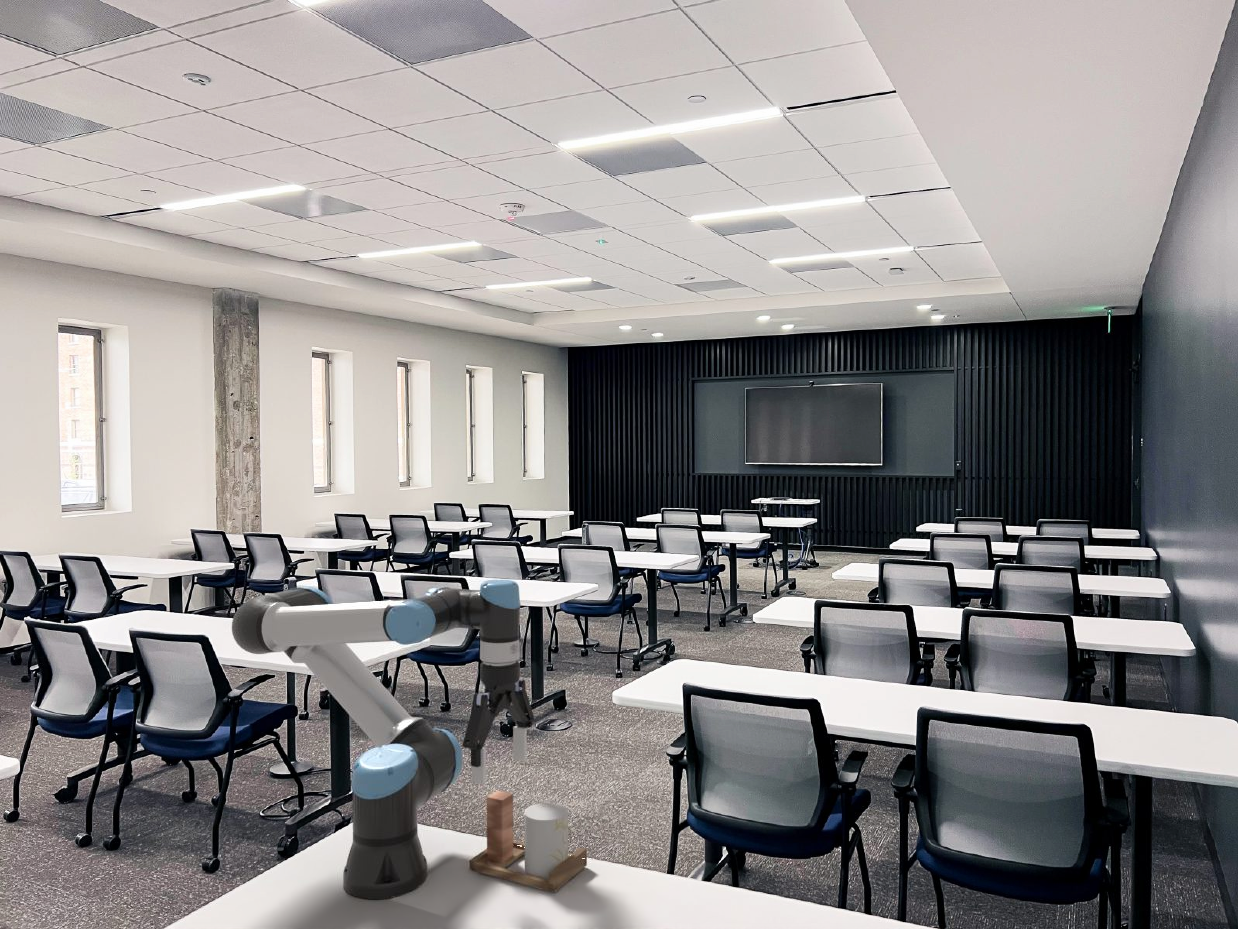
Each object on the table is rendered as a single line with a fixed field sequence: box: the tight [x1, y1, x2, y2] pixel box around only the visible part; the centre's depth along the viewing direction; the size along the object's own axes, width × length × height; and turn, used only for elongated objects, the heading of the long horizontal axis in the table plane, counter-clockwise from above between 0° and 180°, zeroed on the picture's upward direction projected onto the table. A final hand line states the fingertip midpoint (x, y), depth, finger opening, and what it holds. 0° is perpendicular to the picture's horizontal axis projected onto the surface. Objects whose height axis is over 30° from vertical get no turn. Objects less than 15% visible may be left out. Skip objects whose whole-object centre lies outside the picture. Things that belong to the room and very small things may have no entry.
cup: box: [523, 802, 569, 880], centre depth 168 cm, size 8×8×12 cm
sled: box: [468, 790, 588, 893], centre depth 170 cm, size 19×12×13 cm, turn 62°
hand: (500, 771), depth 173 cm, fingers open, 13 cm apart
